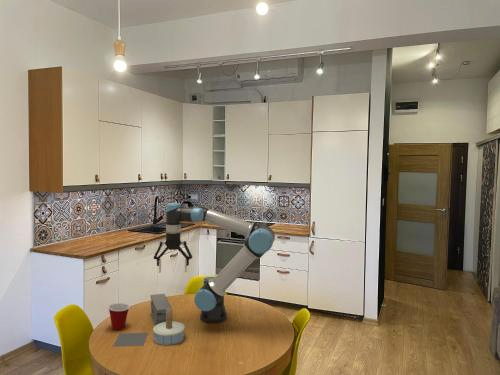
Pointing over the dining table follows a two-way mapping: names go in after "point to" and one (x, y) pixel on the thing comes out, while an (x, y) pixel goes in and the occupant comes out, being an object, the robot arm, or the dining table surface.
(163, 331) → the lid
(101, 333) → the dining table surface
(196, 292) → the robot arm
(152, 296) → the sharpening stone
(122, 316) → the plastic cup
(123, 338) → the mat
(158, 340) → the bowl
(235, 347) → the dining table surface
